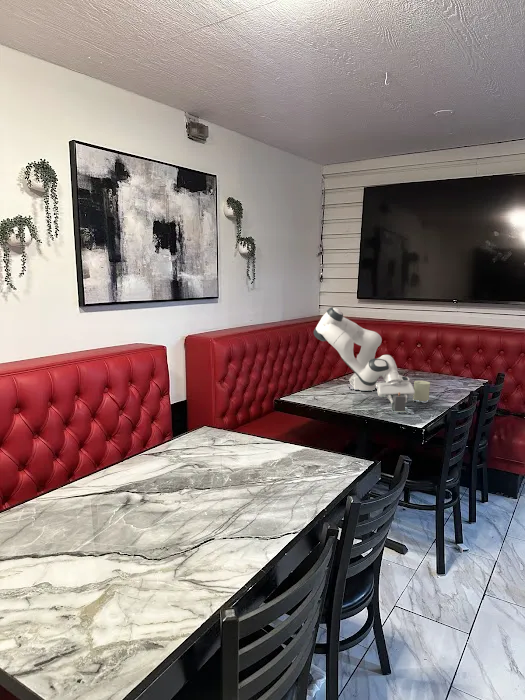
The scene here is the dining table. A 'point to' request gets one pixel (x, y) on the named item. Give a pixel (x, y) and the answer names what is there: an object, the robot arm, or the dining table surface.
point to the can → (421, 390)
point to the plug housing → (399, 402)
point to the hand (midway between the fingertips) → (399, 402)
